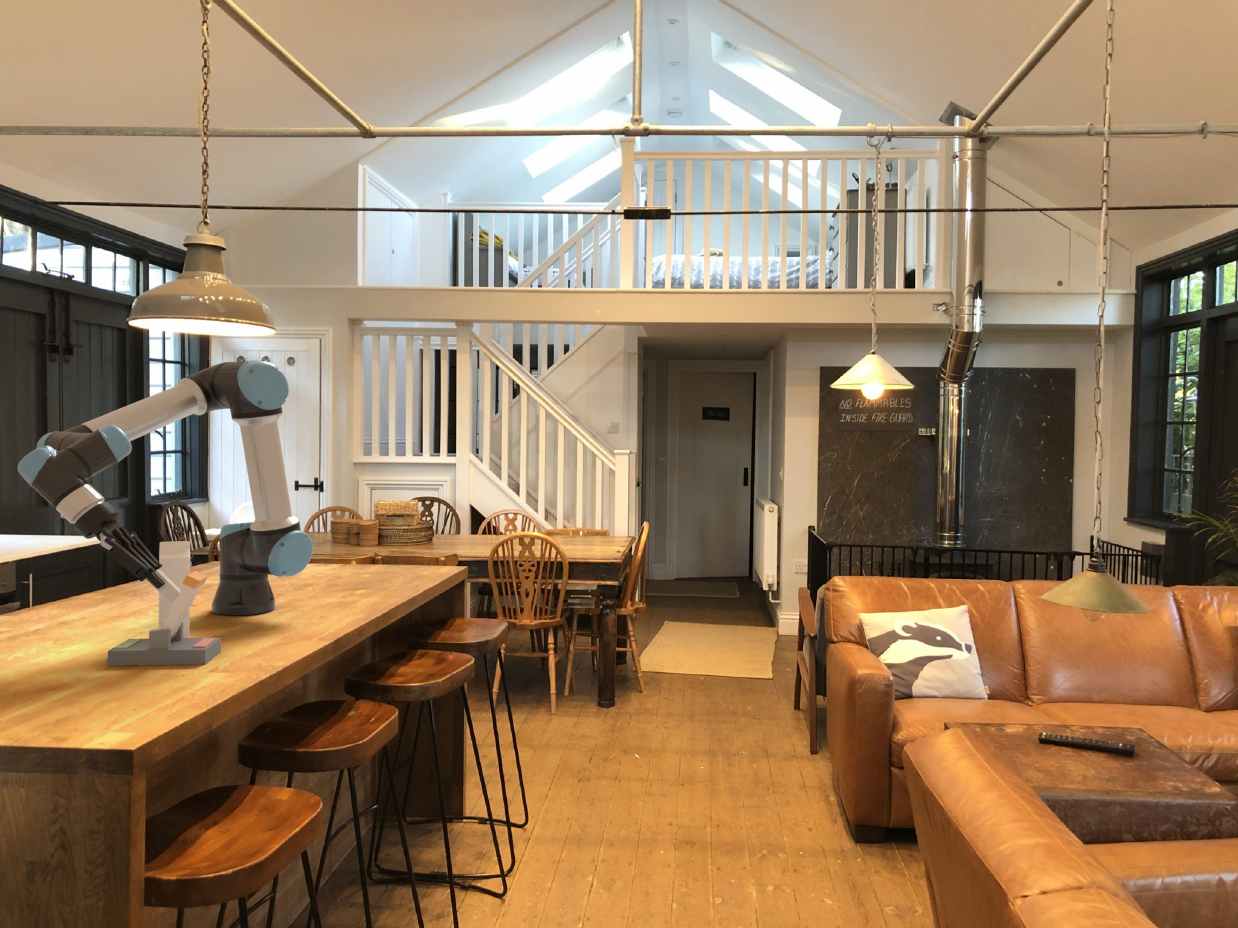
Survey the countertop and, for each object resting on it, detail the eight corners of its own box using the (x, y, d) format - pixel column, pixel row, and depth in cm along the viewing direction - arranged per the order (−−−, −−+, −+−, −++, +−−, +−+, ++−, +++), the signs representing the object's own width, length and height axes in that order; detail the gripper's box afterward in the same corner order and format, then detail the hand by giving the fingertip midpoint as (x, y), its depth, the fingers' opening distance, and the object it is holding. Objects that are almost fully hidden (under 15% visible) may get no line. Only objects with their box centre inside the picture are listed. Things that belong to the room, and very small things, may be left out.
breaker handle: (174, 639, 173) (208, 576, 174) (164, 646, 168) (199, 580, 168) (162, 634, 173) (196, 570, 173) (152, 641, 167) (186, 575, 168)
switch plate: (220, 651, 177) (221, 620, 177) (205, 664, 167) (205, 631, 167) (128, 653, 174) (129, 621, 174) (107, 665, 164) (107, 632, 164)
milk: (189, 642, 185) (191, 542, 184) (158, 644, 182) (159, 543, 181) (188, 635, 190) (189, 539, 189) (157, 638, 187) (159, 540, 186)
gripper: (90, 522, 173) (173, 603, 176) (58, 529, 160) (148, 616, 163) (118, 497, 174) (201, 578, 177) (88, 502, 161) (178, 589, 164)
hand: (176, 596), depth 170 cm, fingers closed
